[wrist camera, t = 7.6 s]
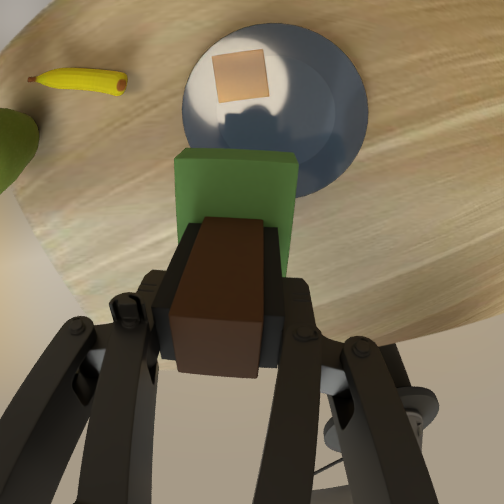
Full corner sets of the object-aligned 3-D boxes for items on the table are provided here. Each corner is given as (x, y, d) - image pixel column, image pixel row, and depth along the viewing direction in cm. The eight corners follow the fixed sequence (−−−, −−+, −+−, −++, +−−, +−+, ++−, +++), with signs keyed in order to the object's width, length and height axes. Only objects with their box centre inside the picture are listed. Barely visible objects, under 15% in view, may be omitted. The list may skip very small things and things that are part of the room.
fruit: (53, 86, 24) (23, 91, 19) (56, 66, 23) (27, 68, 18) (139, 95, 25) (116, 99, 21) (144, 73, 24) (121, 73, 20)
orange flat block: (269, 96, 24) (269, 96, 23) (221, 102, 24) (218, 103, 23) (263, 51, 22) (263, 48, 21) (214, 57, 22) (211, 56, 21)
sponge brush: (279, 286, 21) (287, 418, 13) (190, 281, 21) (153, 407, 13) (294, 152, 17) (329, 237, 8) (185, 147, 17) (106, 225, 8)
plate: (352, 202, 30) (355, 206, 28) (186, 192, 30) (183, 196, 29) (370, 39, 22) (375, 37, 20) (187, 25, 22) (184, 22, 21)
